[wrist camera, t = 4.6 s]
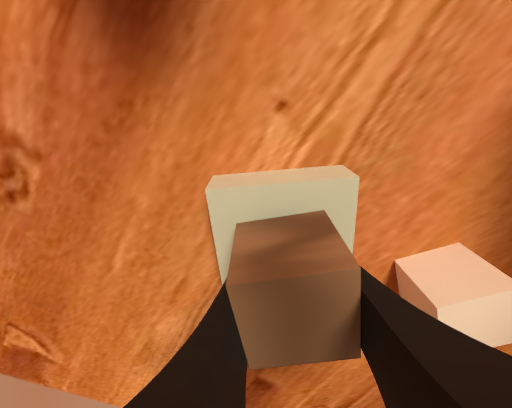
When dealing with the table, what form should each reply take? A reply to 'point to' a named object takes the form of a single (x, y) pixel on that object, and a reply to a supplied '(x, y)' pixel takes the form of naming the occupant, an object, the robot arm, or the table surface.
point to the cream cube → (459, 292)
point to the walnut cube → (294, 291)
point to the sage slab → (280, 201)
